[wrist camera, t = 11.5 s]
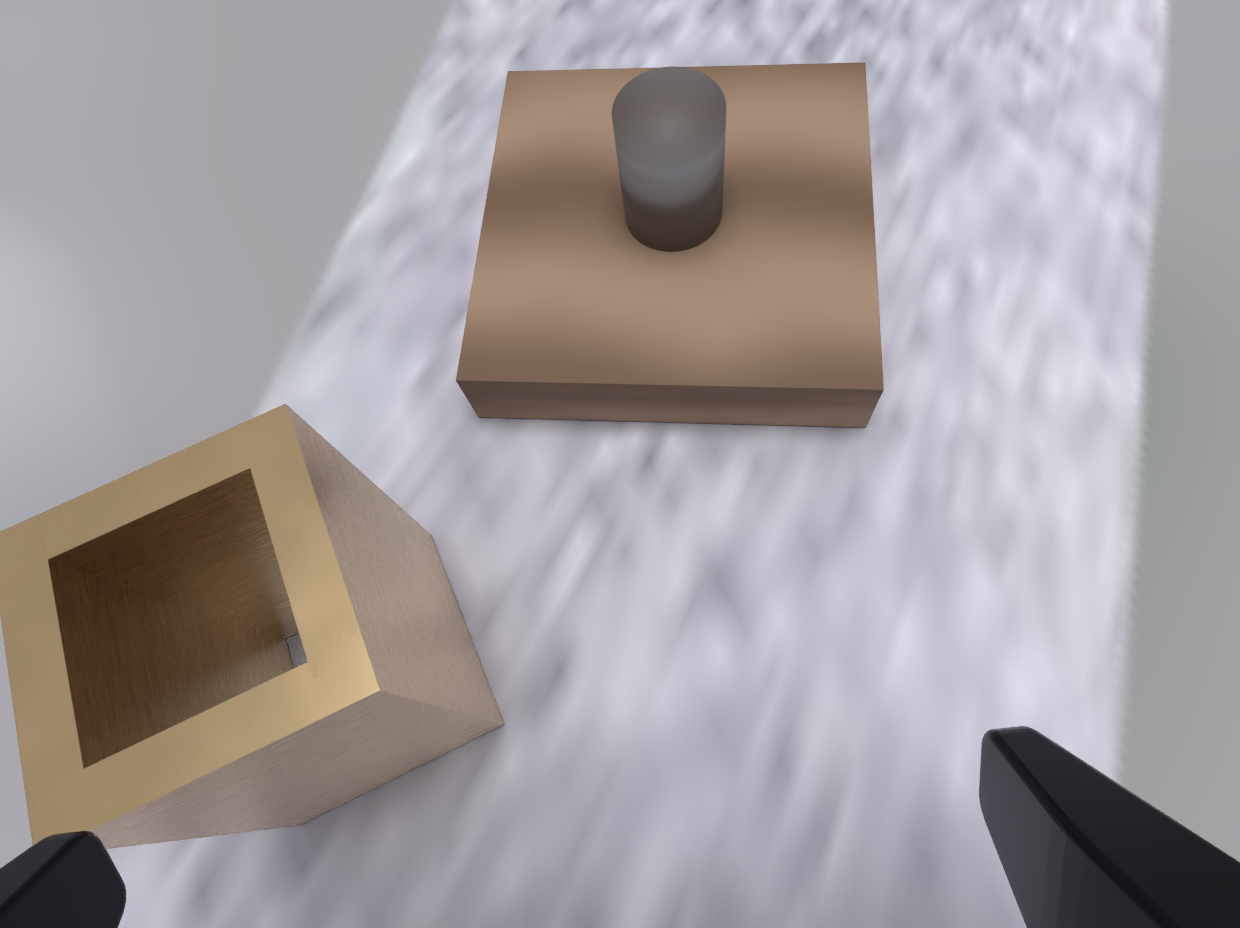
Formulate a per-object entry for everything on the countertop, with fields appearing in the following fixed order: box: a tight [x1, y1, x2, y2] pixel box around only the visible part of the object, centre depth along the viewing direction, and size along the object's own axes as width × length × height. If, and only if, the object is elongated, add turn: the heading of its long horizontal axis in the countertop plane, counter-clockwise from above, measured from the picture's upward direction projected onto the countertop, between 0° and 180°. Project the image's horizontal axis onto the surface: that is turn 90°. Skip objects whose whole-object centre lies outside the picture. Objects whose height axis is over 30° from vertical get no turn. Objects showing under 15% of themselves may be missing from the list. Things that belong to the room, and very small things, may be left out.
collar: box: [0, 404, 504, 849], centre depth 18 cm, size 6×6×9 cm
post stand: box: [456, 63, 884, 428], centre depth 23 cm, size 12×12×6 cm
